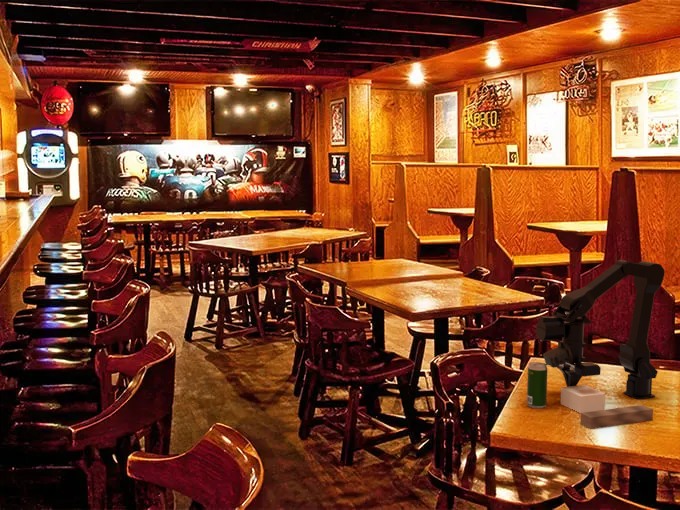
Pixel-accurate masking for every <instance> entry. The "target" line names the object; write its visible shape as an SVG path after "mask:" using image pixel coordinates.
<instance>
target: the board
mask: <svg viewBox="0 0 680 510" xmlns="http://www.w3.org/2000/svg"><path fill="white" fill-rule="evenodd" d="M653 418H654V408H652V407H649V406H647V405H644V404H640V405H633V406H632V405H631V406H622V407H615V408H608V409H605V410H600V411H592V412H585V413H580V425H581V424H582V425H581V426H583V425H584V426H583V427H585V426H586V428H587V427H588V428H587V429H589V428H590V429H589V430H592V429H591V428H593V429H599V427H601V428H606V427H607V426H608V427H613V426H614V425H615V426H621V425H628V424H634V423H635V424H636V423H643V422H649V421H653Z"/></svg>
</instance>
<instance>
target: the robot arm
mask: <svg viewBox="0 0 680 510" xmlns="http://www.w3.org/2000/svg"><path fill="white" fill-rule="evenodd" d="M665 274H666V271H665V269H664V267H663V266H662V265H661V264H659V263H656V262H650V261H647V260H642V261H639V262H638V263H636V262H631V261H627V260H624V259H618V260H616V261H615V262H614V263H613V265H611V266H610V267H608V268H607V269H606V270H605V271H603V272H602V273H600V275H598V276H597V277H596V278H594V279H593V280H592V281H591V282H589V283H588V284H586V285H585V286H583V287H581V288H578V289H575V290H572V291H570V292H569V293H567V294H565V295H563V297H561V300H560V303H559V305H558V306H557V308H556V309H555V311H554V312H553V313H552V314H551V316H543V315H541V316H540V317H539V321H538V322H537V324H536V326H535V333H536V337H537V339H538V340H539V341H540V342H541V341H558V342H557V343H558V344H557V347H556V348H555V347H554V348H552V349H550V350H547V351H546V352H544V353H543V359H544V362H545V364H546V365H547V366H549V367H551V368H554V369H555V368H556V369H558V370H559V371H560V372H561V373H562V375H563V378H564V381H565V384H566V387H570V386H578V384H579V383H580V381H581V379H582V377H592V376H601V372H602V371H601V370H602V368H601V366H600V365H599V364H597V363H594V362H592V361H586V360H587V359H586V358H587V357H585V356H583V354H584V348H586V347H587V343H586V342H584V333H585V332H584V330H585V329H584V328H585V325H587V324H589V325H590V324H592V320H590V319H589V318H588V316H587V313H588V312H589V311H590V310H591V309H592V308H593V307H594V305H595V302H596V301H597V299H599V298H600V297H601V296H603V295H604V294H606V293H607V292H608V291H609V290H610V289H611V288H613V287H614V286H615V285H617V284H618V283H619V282H621V281H622V280H623V279H625V278H626V277H627V276H632V277H633V283H634V286H635V290H636V296H635V300H634V305H633V306H634V308H633V313H632V319H631V325H630V329H629V332H630V333H629V337H628V340H627V341H626V342H625V343H620V345H619V353H618V355H617V357H618V358H619V363H620V364H621V365H622V367H623V369H624V372H625V373H627V379H626V382H625V383H626V387H625V389H626V390H623V392H622V393H623V394H625V395H626V396H629V397H632V398H634V399H636V400H643V399H649V398H650V399H651V398H655V397H656V394H653V393H652V387H653V379H656V378H657V375H658V373H659V372H658V370H657V369H656V368H655V367H654V366H653V364H652V363H651V351H650V349H649V344H648V336H649V330H650V324H651V320H652V311H653V306H654V300H655V299H654V298H655V295H656V293H657V292H658V291H659V289H660V288H661V286H662V284H663V282H664V281H663V280H664V279H665ZM561 339H562V340H561ZM628 373H629V374H628Z"/></svg>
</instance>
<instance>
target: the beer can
mask: <svg viewBox="0 0 680 510" xmlns="http://www.w3.org/2000/svg"><path fill="white" fill-rule="evenodd" d="M547 391H548V365H546V363H544V362H539V361H533V362H529V363H528V366H527V382H526V404H527V407H529V408H533V409H538V410H539V409H540V410H541V409H544V408H546V406H547V395H548V394H547V393H548V392H547Z"/></svg>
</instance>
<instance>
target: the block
mask: <svg viewBox="0 0 680 510" xmlns="http://www.w3.org/2000/svg"><path fill="white" fill-rule="evenodd" d="M605 404H606V393H605V392H603V391H600V390H598V389H596V388H593V387H591V386H588V385H587V384H581V385H577V386H570V387H567V386H564V387H561V388H560V405H562V406H564V407H567V408H569V409H570V410H572V409H573V410H572V411H574V410H575V412H576V411H577V413H578V412H579V413H578V414H581V413H585V412H592V411H600V410H606V409H605V408H606V405H605Z"/></svg>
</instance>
